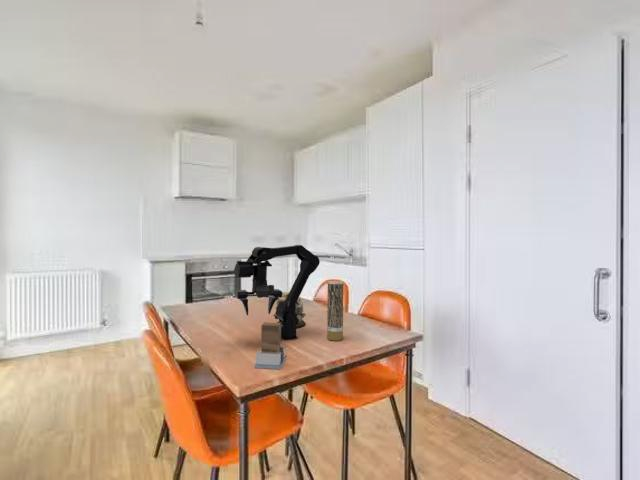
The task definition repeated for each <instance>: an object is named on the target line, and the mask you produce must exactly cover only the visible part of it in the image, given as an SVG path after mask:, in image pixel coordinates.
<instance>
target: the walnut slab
mask: <svg viewBox="0 0 640 480" xmlns="http://www.w3.org/2000/svg"><path fill="white" fill-rule="evenodd" d="M260 332H261V334H260V335H261V350H260V351H268V352H280V345H281V339H282V338H281V323H277V322H267V321H265V322H263V323H262V324H261V331H260Z"/></svg>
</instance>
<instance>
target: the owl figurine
mask: <svg viewBox="0 0 640 480" xmlns="http://www.w3.org/2000/svg"><path fill="white" fill-rule="evenodd" d="M289 292H290V291H287V292H284V293H282V297H281V298H279V299H278V300H276V306H275V309H276V308H277V306H278V304H279V302H280V301H282V302H283V301H284V300H286V298H287V296H288V294H289ZM294 315H295V316H296V317H297V318H298V319H299V322H298V325H296V330H297V329H300V328H303V327H305V326H306V322H305V321H304V319H303V318H304V317H305V316H306V313H305V312H304V303H303V302H302V299H301V298H300V297H299V298H298V300H297V302H296V311H295V314H294ZM272 316H273V317H274V319H275V320H279V319H278V318H277V317H276V314H275V313H273V314H272ZM276 323H281V322H279V321H277V322H276Z"/></svg>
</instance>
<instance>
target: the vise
mask: <svg viewBox="0 0 640 480" xmlns="http://www.w3.org/2000/svg"><path fill="white" fill-rule="evenodd" d="M286 348H287V347H286V345H282V344H280V352H268V351H261V350H258V351H257V352H256V354H255V355H256V359H255V360H256V362H255V363H254V369H267V370H269V369H270V370H281V369H282V368H283V365H284V364H285V362H286V361H287V355H285V354H286Z"/></svg>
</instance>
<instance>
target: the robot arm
mask: <svg viewBox="0 0 640 480" xmlns="http://www.w3.org/2000/svg"><path fill="white" fill-rule="evenodd" d="M293 255H296V256H297V258H298V260H299V261H300V264H299V272H298V275H296V276H297V277H296V278H295V281H294V283H292V286H291V289H289V291H288V292H289V294H288V296H287V298H286V300H284V301H283V302H282V301H280V302H279V304H278V306H277V305H276V306H277V308H276V307H275V311H274V312H275V313H274V314H276V317H277V318H278V319H277V320H278V322H281V339H282V340H284V341H285V340H293V339H294V340H295V339H298V336H297V329H296V325H298V322H299V319H298V318H297V317H296V316H295V315H294V314H295V311H296V302H297V300H298V298H300V296H301V294H302V292H303V290H304V287H305V286H306V283H307V281H308V280H309V278H310V275H312V274H313V273H314V272H315V271H316V270H317V269H318V267H319V265H320V262H321V261H320V258H319V257H318V255H315V254H314V253H312V252H311V251H310V250H308V249H307V248H306V247H304V245H302V244H295V245H290V246H289V245H287V246H279V247H263V246H256V247H253V250H252V251H251V254H250V256H249V257H248V259H246V260H237V261H236V263H235V265H234V269H233V273H234V277H235V278H236V279H242V278H243V279H244V278H245V279H247V278H251V277H252V288H251V291H247V290H246V289H237V290H236V291H235V295H234V297H235V298H236V299H238V300H239V301H241V303H242V305H243V307H244V311H245V314H246V316H249V304H248V303H249V299H248V297H257V298H259V299H261V298H266V299H267V298H268V306H267V314H268V315H271V311H272V310H273V308H274V305H275V302H277V300H278V299H279V298H281V297H282V296H283V291H282V290H281V289H278V288H276V289H275V286H274V285H275V284H268V278H267V276H268V275H267V274H268V267H272V266H273V265H272V264H271V263H270V261H269V260H272V259H274V258H278V257H283V256H284V257H285V256H293Z"/></svg>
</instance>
